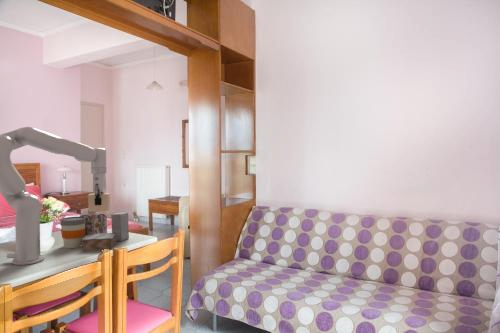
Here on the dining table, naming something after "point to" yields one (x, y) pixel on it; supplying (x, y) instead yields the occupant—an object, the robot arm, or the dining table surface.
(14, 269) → the dining table surface
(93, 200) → the carton
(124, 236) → the skincare box
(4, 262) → the dining table surface
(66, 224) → the reusable coffee cup
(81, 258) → the dining table surface
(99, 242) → the podium
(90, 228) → the decorative jar
